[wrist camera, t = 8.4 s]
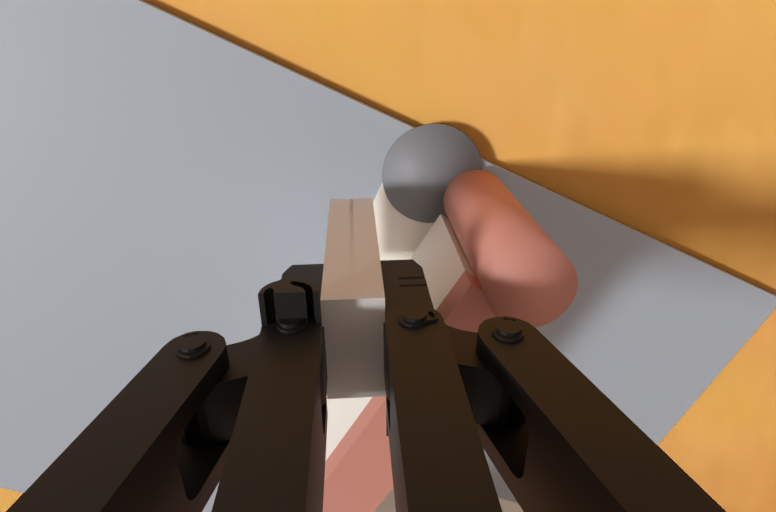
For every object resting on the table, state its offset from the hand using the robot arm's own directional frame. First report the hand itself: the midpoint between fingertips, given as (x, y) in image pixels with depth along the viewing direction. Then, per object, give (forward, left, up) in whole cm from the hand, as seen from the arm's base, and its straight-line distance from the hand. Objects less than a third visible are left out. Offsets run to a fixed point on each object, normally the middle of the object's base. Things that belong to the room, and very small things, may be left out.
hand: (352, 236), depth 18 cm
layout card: (-7, -1, -2) cm, 8 cm away
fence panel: (-3, -3, -1) cm, 4 cm away
